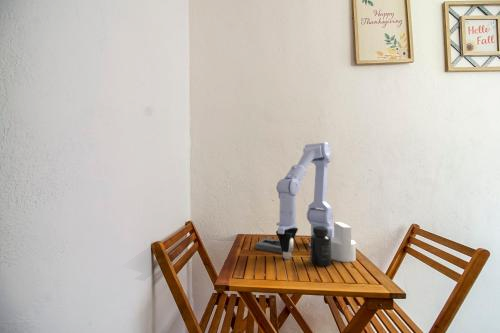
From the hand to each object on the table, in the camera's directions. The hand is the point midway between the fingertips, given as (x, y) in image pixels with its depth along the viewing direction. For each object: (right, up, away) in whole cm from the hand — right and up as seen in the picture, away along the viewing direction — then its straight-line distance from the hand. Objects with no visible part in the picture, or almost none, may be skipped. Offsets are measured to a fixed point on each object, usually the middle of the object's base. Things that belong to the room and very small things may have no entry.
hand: (287, 249), depth 81 cm
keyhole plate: (-4, -3, +11) cm, 12 cm away
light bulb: (0, -3, 0) cm, 3 cm away
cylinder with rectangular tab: (+21, -4, +2) cm, 21 cm away
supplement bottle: (+11, -3, -4) cm, 12 cm away
